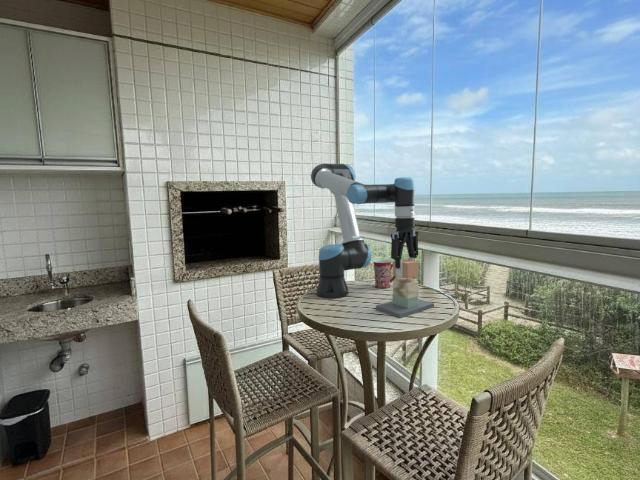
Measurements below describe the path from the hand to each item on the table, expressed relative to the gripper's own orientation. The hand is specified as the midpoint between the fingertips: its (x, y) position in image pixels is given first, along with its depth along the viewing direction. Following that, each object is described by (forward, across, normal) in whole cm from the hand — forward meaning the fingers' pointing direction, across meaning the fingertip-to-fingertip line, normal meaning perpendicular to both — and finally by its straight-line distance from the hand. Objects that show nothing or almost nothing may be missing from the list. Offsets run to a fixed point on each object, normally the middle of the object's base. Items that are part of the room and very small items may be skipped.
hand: (405, 274), depth 133 cm
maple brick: (+8, 0, 0) cm, 8 cm away
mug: (+14, +18, +28) cm, 36 cm away
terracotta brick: (0, 0, 0) cm, 1 cm away
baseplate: (+14, 0, 0) cm, 14 cm away
